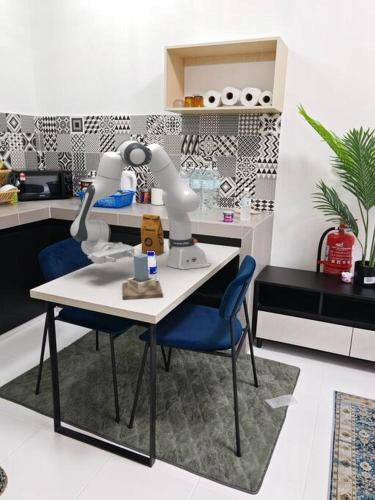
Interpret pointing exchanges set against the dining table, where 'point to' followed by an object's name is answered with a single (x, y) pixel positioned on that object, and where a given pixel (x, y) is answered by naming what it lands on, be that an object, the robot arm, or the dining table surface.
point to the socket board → (143, 295)
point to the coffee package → (152, 234)
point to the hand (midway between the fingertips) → (123, 258)
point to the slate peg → (141, 268)
